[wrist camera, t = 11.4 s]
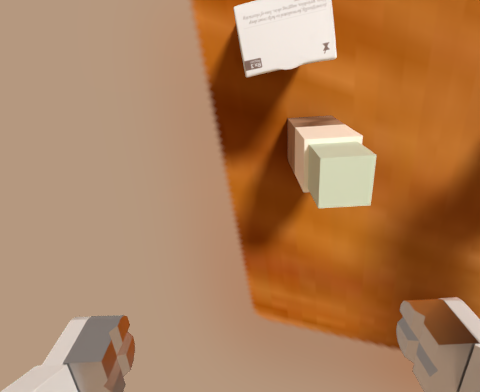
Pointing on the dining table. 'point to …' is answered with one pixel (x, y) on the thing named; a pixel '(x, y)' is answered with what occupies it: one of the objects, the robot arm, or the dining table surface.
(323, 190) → the block small
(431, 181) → the dining table surface
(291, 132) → the block bottom
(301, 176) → the block top
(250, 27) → the skincare box
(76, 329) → the robot arm
